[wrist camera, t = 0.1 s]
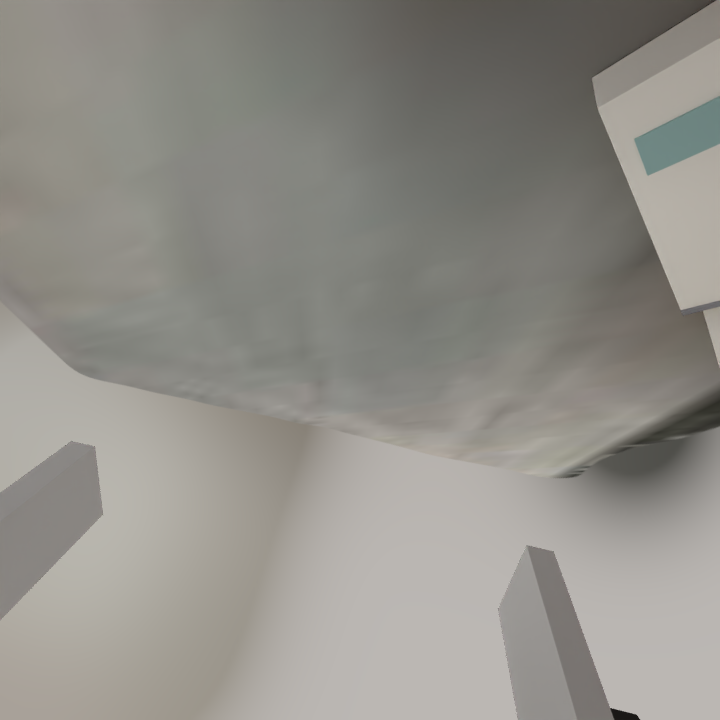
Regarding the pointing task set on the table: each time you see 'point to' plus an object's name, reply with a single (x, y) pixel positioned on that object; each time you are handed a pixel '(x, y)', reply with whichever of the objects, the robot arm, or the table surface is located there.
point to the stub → (714, 328)
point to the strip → (673, 148)
